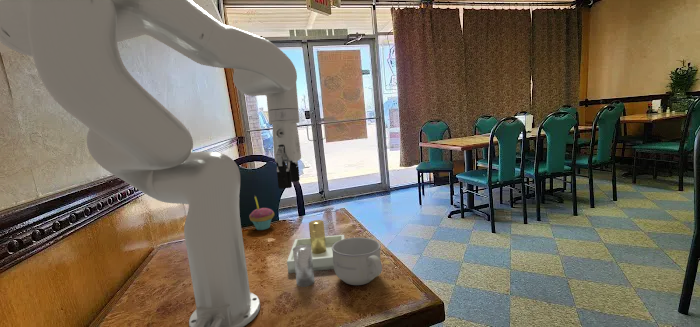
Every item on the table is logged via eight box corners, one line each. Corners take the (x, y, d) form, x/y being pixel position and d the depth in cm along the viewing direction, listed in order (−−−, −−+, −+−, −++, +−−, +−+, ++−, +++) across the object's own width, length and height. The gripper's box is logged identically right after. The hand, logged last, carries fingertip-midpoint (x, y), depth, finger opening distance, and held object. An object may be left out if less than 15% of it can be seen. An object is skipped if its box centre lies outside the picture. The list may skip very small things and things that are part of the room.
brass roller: (325, 253, 80) (323, 224, 79) (310, 254, 80) (307, 225, 79) (326, 247, 84) (324, 219, 83) (312, 248, 84) (309, 220, 83)
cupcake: (245, 231, 105) (241, 198, 103) (260, 223, 113) (256, 191, 111) (267, 232, 102) (263, 198, 101) (280, 223, 110) (276, 191, 109)
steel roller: (313, 285, 66) (310, 251, 65) (295, 287, 66) (291, 252, 65) (315, 276, 70) (311, 243, 69) (298, 278, 70) (294, 245, 69)
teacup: (328, 273, 71) (325, 241, 70) (370, 262, 75) (368, 231, 74) (349, 305, 58) (346, 266, 57) (398, 290, 62) (396, 253, 61)
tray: (346, 267, 73) (345, 256, 73) (288, 273, 73) (286, 261, 72) (345, 244, 87) (344, 234, 87) (296, 249, 87) (295, 239, 86)
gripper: (291, 114, 67) (297, 190, 69) (304, 118, 85) (309, 178, 86) (258, 117, 68) (265, 192, 69) (278, 119, 85) (283, 179, 87)
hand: (289, 184), depth 78 cm, fingers open, 9 cm apart
